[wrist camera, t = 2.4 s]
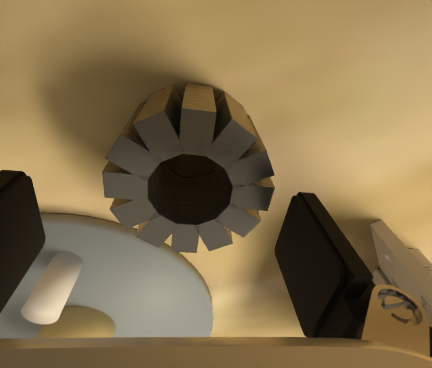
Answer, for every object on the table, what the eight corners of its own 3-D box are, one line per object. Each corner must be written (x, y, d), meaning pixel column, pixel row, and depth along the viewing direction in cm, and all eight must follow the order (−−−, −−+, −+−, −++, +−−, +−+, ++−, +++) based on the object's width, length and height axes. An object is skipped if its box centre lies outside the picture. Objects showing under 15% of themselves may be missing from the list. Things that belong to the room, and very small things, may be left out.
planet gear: (269, 93, 13) (294, 121, 10) (242, 206, 17) (253, 256, 13) (124, 74, 12) (95, 97, 9) (128, 197, 16) (109, 247, 12)
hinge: (369, 219, 18) (528, 408, 9) (448, 214, 18) (675, 395, 9) (327, 335, 25) (394, 500, 17) (384, 331, 25) (478, 492, 17)
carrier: (231, 226, 17) (240, 285, 13) (198, 376, 28) (198, 433, 24) (-123, 200, 15) (-232, 263, 11) (-12, 374, 26) (-49, 437, 22)
